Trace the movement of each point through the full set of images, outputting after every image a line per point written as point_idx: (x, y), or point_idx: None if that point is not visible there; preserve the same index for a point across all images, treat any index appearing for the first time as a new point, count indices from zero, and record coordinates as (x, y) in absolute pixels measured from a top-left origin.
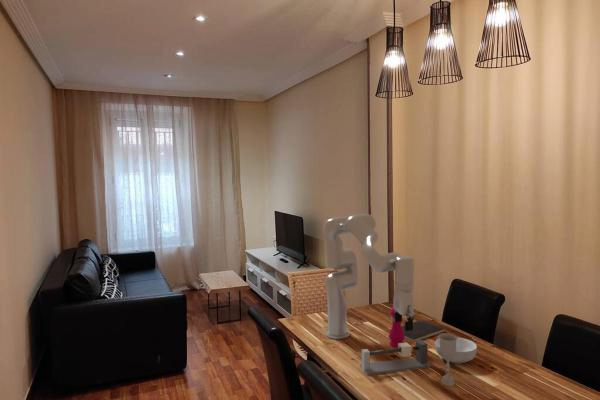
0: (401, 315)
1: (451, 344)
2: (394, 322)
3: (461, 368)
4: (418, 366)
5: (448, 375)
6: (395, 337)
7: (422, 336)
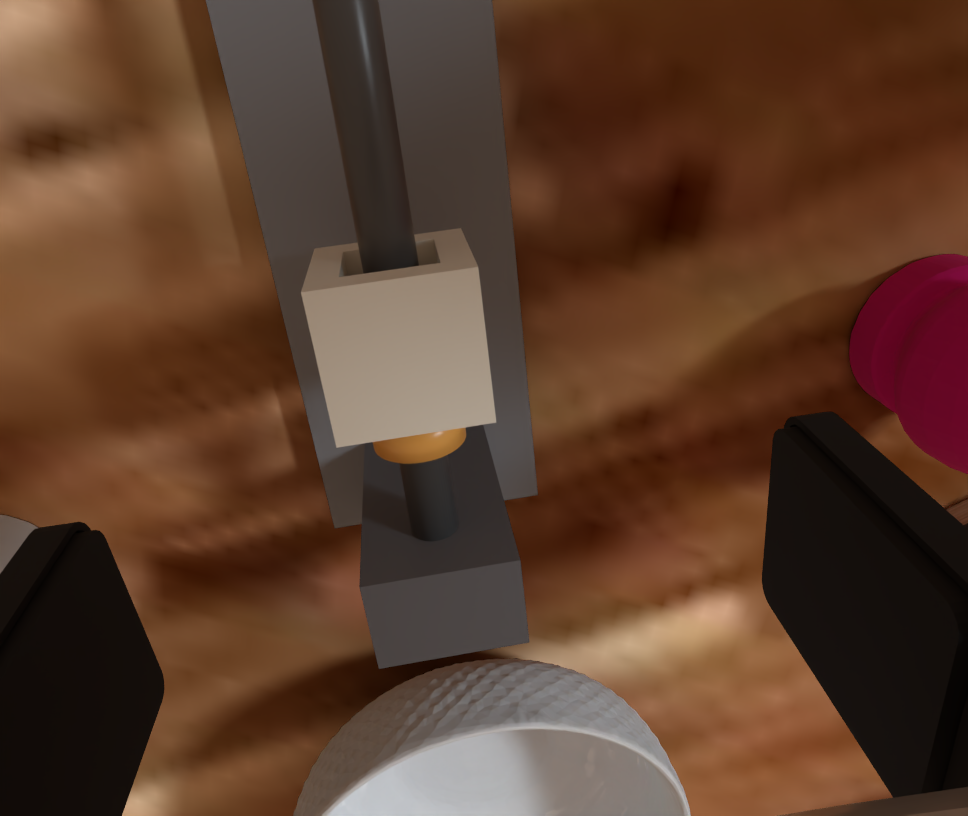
0: (860, 725)
1: None
2: None
3: (298, 733)
4: (304, 400)
5: None
6: (950, 341)
7: None
